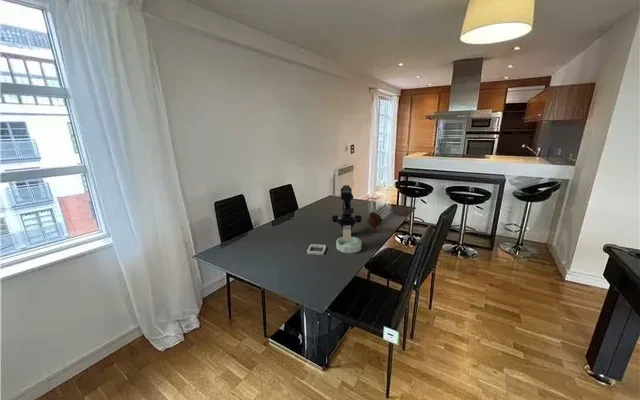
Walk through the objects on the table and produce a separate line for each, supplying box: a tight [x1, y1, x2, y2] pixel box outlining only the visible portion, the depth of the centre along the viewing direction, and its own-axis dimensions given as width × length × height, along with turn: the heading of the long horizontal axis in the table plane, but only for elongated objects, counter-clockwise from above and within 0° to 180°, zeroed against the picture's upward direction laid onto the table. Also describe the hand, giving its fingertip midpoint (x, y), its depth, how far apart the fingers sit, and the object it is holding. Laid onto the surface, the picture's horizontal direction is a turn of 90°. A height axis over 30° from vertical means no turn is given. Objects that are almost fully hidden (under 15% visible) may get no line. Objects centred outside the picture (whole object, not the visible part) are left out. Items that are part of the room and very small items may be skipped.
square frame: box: [306, 244, 327, 256], centre depth 168 cm, size 10×10×2 cm
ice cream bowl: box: [366, 211, 383, 234], centre depth 194 cm, size 11×11×15 cm
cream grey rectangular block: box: [342, 225, 352, 241], centre depth 168 cm, size 5×5×9 cm
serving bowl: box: [335, 236, 362, 254], centre depth 171 cm, size 16×16×4 cm
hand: (346, 231), depth 166 cm, fingers closed on cream grey rectangular block, 5 cm apart
